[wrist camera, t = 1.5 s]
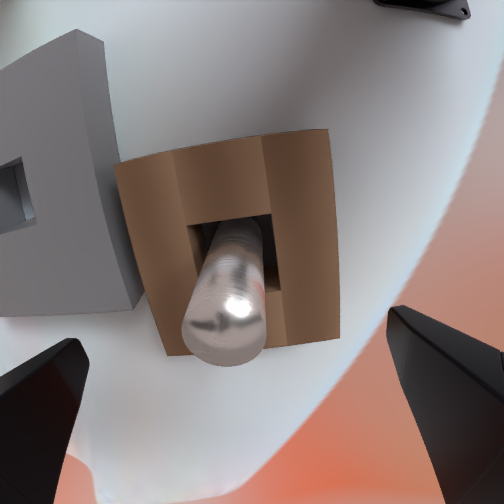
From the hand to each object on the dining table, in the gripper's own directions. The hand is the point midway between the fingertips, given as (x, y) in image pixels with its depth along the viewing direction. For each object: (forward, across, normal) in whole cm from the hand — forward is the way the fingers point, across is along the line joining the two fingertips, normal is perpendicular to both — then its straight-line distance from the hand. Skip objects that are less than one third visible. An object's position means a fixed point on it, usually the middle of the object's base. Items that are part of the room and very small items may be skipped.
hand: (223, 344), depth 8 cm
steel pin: (+9, 0, 0) cm, 9 cm away
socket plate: (+9, +12, -5) cm, 15 cm away
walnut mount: (+9, 0, 0) cm, 9 cm away
